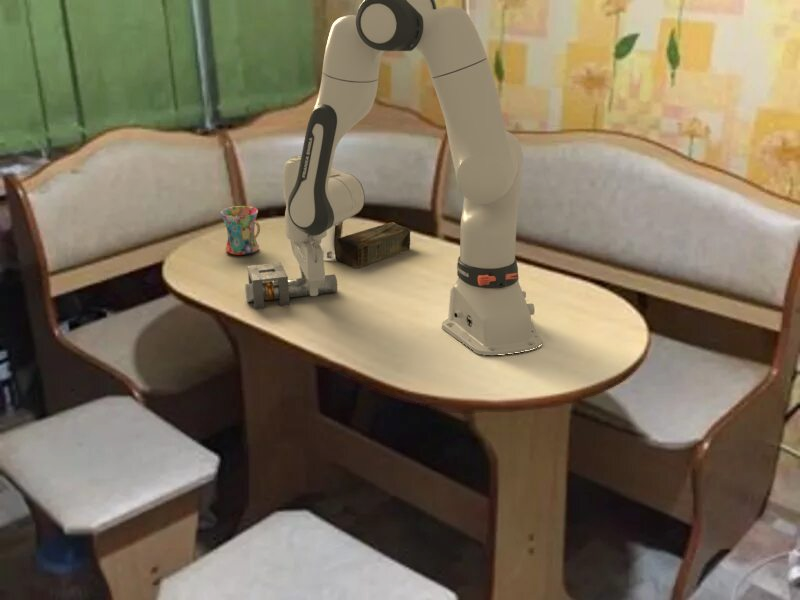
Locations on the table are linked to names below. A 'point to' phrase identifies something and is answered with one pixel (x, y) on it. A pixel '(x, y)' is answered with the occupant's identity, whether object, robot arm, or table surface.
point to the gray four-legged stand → (275, 275)
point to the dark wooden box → (372, 245)
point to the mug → (241, 229)
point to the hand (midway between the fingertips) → (309, 286)
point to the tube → (293, 288)
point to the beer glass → (331, 242)
